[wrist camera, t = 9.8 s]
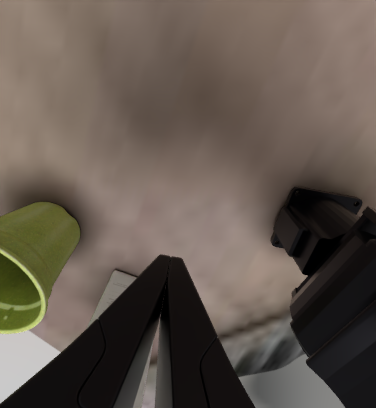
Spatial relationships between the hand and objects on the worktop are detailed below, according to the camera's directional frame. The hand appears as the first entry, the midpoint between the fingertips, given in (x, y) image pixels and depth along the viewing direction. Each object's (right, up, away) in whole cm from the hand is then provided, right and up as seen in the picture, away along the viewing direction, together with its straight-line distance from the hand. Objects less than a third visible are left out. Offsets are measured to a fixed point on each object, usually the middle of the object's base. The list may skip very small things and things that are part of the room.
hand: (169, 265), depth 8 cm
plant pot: (-14, 0, +15) cm, 21 cm away
